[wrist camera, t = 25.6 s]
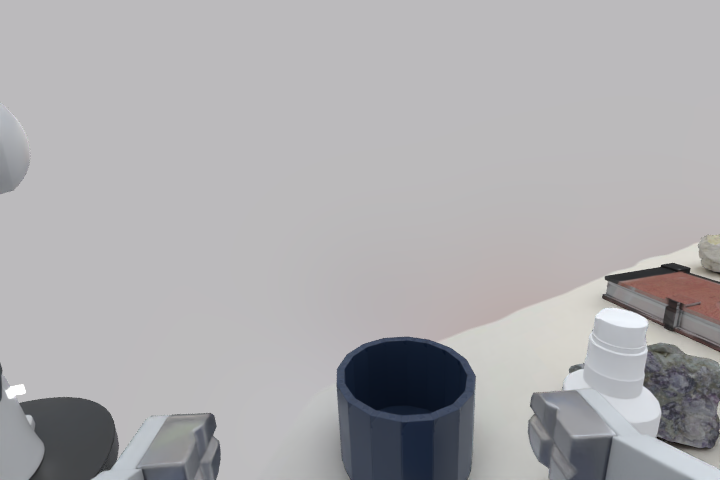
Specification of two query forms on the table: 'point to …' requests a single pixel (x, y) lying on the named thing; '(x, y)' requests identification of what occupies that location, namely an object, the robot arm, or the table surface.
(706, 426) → the mineral rock
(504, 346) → the table surface
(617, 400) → the spray bottle
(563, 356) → the table surface
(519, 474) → the table surface
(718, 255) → the white rock
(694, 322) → the book
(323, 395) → the table surface
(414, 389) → the pot
